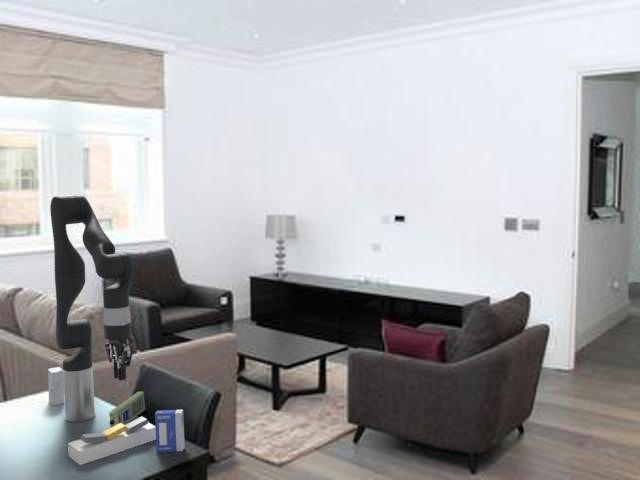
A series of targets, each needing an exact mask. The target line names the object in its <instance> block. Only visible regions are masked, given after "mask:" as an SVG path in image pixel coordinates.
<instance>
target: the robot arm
mask: <svg viewBox="0 0 640 480" xmlns="http://www.w3.org/2000/svg"><path fill="white" fill-rule="evenodd" d="M49 207H50V209H49V210H50V211H49V212H50V213H49V214H50V220H51V229H52V236H53V251H54V253H53V254H54V284H55V298H56V299H55V300H56V317H55V320H56V322H55V340H56V345H57V348H58V349H59V350H72V349H79V350H77V351H76V352H75V353H73V354H72V355H70V356H68V357H66V358H65V359H64V360H63V361H62V370H63V378H64V408H65V409H64V411H65V420H66V421H67V422H72V423H73V422H74V423H77V422H78V423H79V422H85V421H87V420H91V419H92V418H94V417H95V416H96V415H95V414H96V413H95V412H96V411H95V410H96V409H95V408H96V406H95V392H94V390H95V389H94V373H93V370H94V369H93V353H92V350H93V349H92V346H93V345H92V344H93V343H92V338H93V333H92V330H93V329H92V325H91V322H90V321H89V320H88V318H87V319H86V318H82V319H73V320H68V318H69V315H70V312H71V309H72V306H73V305H74V303H75V301H76V300H77V298H78V297H79V295H80V294H81V292H82V290H83V288H84V287H85V284H86V264H85V261H84V259H83V257H82V256H81V254H80V253H79V252H78V250H77V249H76V248H75V246H74V245H73V244H72V242H71V240H70V239H69V236H68V231H67V225H74V224H75V225H76V224H81V223H82V224H83V225H84V229H83V233H82V243H83V245H84V247H85V249H86V250H87V252H88V253H89V255H90V256H91V257H92V260H93V264H94V267H95V273H96V274H97V276H98V277H100V278H101V279H102V280H112V279H116V281H115V283H113V284H111V285H109V286H107V287H105V288H104V289H103V294H102V295H103V329H104V330H103V331H104V333H103V334H104V338H105V340H108V342H106V343H105V344H104V347H105V351H106V355H107V358H108V362H109V363H111V365H112V367H113V368H112V369H113V378H114V379H115V380H116V379H117V380H118V381H126V379H127V368H128V367H130V365H131V361H132V359H133V354H134V351H133V349H129V344H128V339H129V338H130V337H131V336H132V320H131V319H132V318H131V309H130V299H129V298H130V295H129V292H130V286H131V282H132V278H133V273H134V268H135V266H134V264H135V263H134V261H133V258H132V256H131V255H130V254H128V253H125V252H121V253H116V246H115V244H114V243H113V242H112V241H111V239H110V238H109V236H107V234H106V233H105V231H104V230H103V228H102V226H101V225H100V223H99V220H98V218H97V215H96V214H95V212H94V210H93V207H92V206H91V203H90V202H89V200H88V198H86V196H84V195H82V194H68V195H67V194H65V195H55V196H53V197H52V199H51V201H50V206H49Z"/></svg>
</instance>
